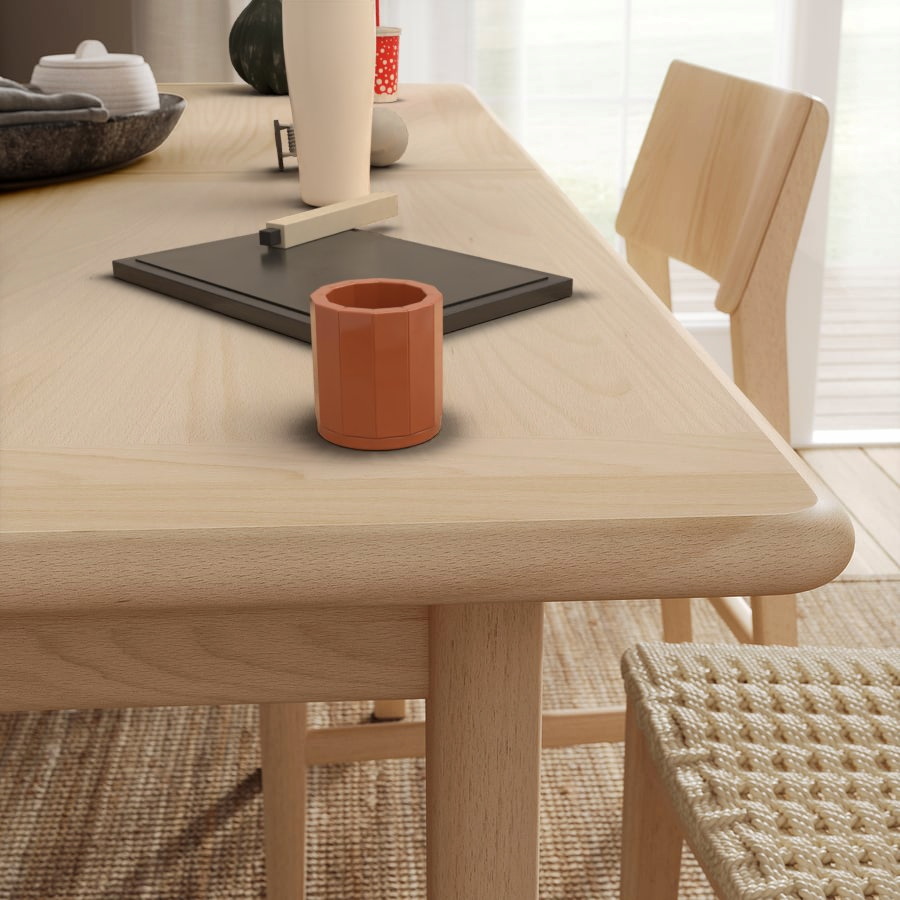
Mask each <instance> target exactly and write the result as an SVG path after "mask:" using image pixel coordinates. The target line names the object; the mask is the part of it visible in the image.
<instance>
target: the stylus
mask: <svg viewBox="0 0 900 900" xmlns="http://www.w3.org/2000/svg"><path fill="white" fill-rule="evenodd" d="M397 216H399V194H398V193H395V192H387V191H377V192H373V193H370V195H366V196H362V197H358V198H355V199H351V200H347V201H343V202H340V203H336V204H332V205H328V206H325V207H317V208H314V209H310V210H306V211H303V212H299V213H295V214H290V215H287V216H283V217H280V218H276V219H272V220H268V221H266V222H265V228H263V229H260V230H258V233H259V240H260V245H264V246H272V247H278V248H284V249H286V248H290V247H293V246H296V245H300V244H303V243H306V242H310V241H313V240H316V239H320V238H323V237H327V236H330V235H333V234H337V233H340V232H343V231H347V230H350V229H353V228H355V229H358V228H359V227H364V226H366V225H371V224H373V223H377V222H379V221H380V222H381V221H383V220H387V219H390V218H394V217H397Z"/></svg>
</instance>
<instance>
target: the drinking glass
mask: <svg viewBox="0 0 900 900" xmlns="http://www.w3.org/2000/svg"><path fill="white" fill-rule="evenodd" d="M282 27H283V46H284V57H285V66H286V74H287V82H288V89H289V91H288V96H289V104H290V111H291V118H292V123H293V127H294V135H295V142H296V150H297V157H296V158H297V166H298V177H299V193H300V198H301V200H302V201H303V202H304V203H305V204H306V205H308V206H313V207H317V208H321V207H325V206H328V205H332V204H336V203H340V202H343V201H347V200H351V199H355V198H358V197H362V196H366V195H370V194H371V174H370V172H371V171H370V170H371V164H370V153H371V134H372V117H373V108H374V102H373V100H374V83H375V65H376V8H375V0H282Z"/></svg>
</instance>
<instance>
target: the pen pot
mask: <svg viewBox="0 0 900 900" xmlns="http://www.w3.org/2000/svg"><path fill="white" fill-rule="evenodd" d="M310 315H311V336H312V343H311V353H312V354H311V355H312V376H313V377H312V378H313V397H314V398H313V399H314V415H315V417H316V428H317V432H318V434H319V435H320V436H321V437H322V438H323V439H324V440H325V441H327V442H330V443H331V444H334V445H337V446H341V447H345V448H349V449H356V450H366V451H387V450H388V451H389V450H398V449H403V448H409V447H413V446H416V445H419V444H423V443H425V442H427V441H429V440H431V439H432V438H434V437H436V436H437V435H438V433H439V432H440V430H441V428H442V416H443V415H444V387H443V386H444V334H443V295H442V294H441V293H440V292H439V291H438V290H437V289H436V288H435V287H434V286H432V285H428V284H424V283H420V282H416V281H413V280H402V279H387V278H372V279H357V280H348V281H347V280H346V281H342V282H338V283H334V284H329V285H325V286H322V287H320V288H319V289H318V290H316V291H315V292H313V293H312V294H311V295H310Z"/></svg>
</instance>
